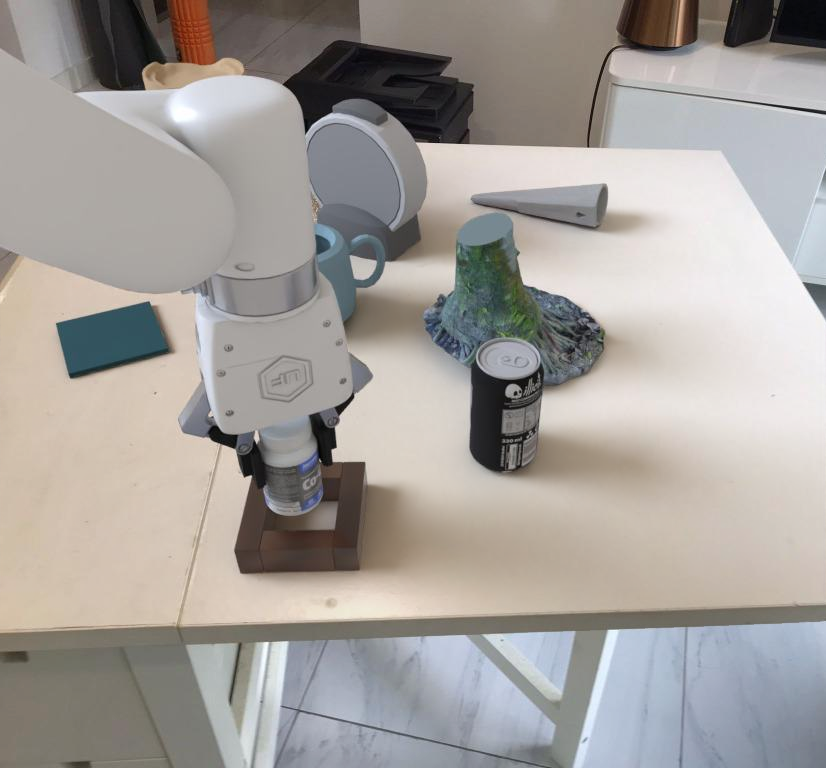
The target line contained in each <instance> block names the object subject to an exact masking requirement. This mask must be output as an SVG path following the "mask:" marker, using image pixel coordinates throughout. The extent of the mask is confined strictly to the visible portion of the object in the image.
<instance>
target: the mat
mask: <svg viewBox="0 0 826 768" xmlns="http://www.w3.org/2000/svg"><path fill="white" fill-rule="evenodd" d="M154 311H155V310H154V308H153V306H152V304H151V302H150V301H149V300H148V301H144V302H139V303H135V304H131V305H126V306H122V307H118V308H113V309H109V310H105V311H101V312H97V313H93V314H89V315H84V316H79V317H75V318H71V319H67V320H62V321H58V322H55V326H56V330H57V334H58V338H59V342H60V346H61V347H60V348H61V350H62V355H63V358H64V362H65V366H66V370H67V374H68V377H69V379H72V378H76V377H80V376H83V375H87V374H91V373H96V372H100V371H103V370H106V369H110V368H111V369H112V368H114V367H118V366H122V365H125V364H131V363H134V362H137V361H140V360H145V359H149V358H152V357H156V356H160V355H164V354H167V353H168V354H169V353H170V349H169V346H168V343H167V341H166V339H165V335H164V334H163V333H164V332H162V331H163V330H162V328H161V326H160V324H159V321H158V319H157V316H156V314H155V312H154Z"/></svg>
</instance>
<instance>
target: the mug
mask: <svg viewBox="0 0 826 768" xmlns="http://www.w3.org/2000/svg"><path fill="white" fill-rule="evenodd" d="M314 229H315V239H316V249H317V259H318V269H319V272H321V273H322V274H323V275H324V276H325V277H326V278H327V279H328V280H329V281H330V283H331V284H332V287H333V289H334V292H335V295H336V298H337V302H338V305H339V309H340V312H341V317H342V321H343V323H344V322H345V321H347V320H348V319H349V318H350V317H351V316H352V314H353V313H354V312H355V309H356V301H357V289H368V288H370V287H372V286H374V285H375V284H377V283H378V282H379V280H381V277H382V276H383V273H384V270H385V267H386V261H385V250H384V247H383V245H382V243H381V241H380V240H379V239H378V238H376V237H374V236H371V235H367V234H365V235H359V236H358V237H356V238H354V239H353V240H352V241H351V242H350V243H349V244H348V245H346V242H345V240H344V239H343V237H342V235H341V234H340V233H339V232H338V231H337V230H335V229H333V228H332V227H329V226H326V225H323V224H317V222H314ZM364 243H369V244H371V245H373V247H374V248H375V251H376V255H377V260H376V264H375V269H374V270H373V272H372V274H371V275H370V276H369V277H367V278H365V279H358V278H355V275H354V271H353V265H352V262H351V261H352V260H351V256H352V255H351V254H352V253H353V252H354V251H355V250H356V249H357V248H358V247H359V246H360V245H362V244H364Z"/></svg>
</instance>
